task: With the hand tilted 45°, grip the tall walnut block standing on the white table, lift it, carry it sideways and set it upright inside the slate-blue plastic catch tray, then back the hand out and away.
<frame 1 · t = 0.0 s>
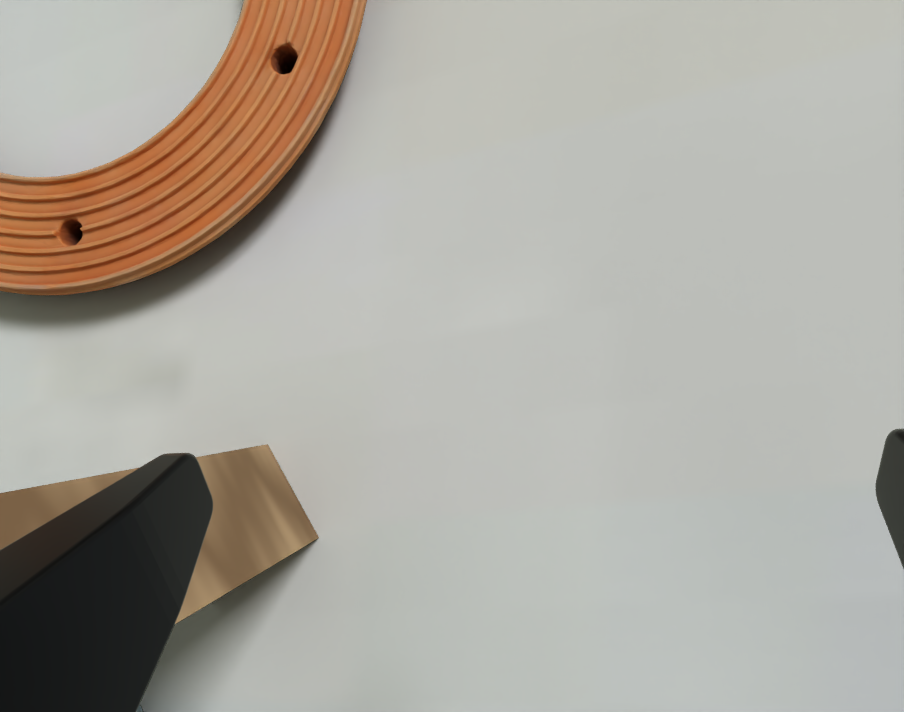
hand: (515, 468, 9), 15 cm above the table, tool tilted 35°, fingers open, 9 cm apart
ring: (96, 2, 28), on the table
walnut block: (239, 523, 25), on the table
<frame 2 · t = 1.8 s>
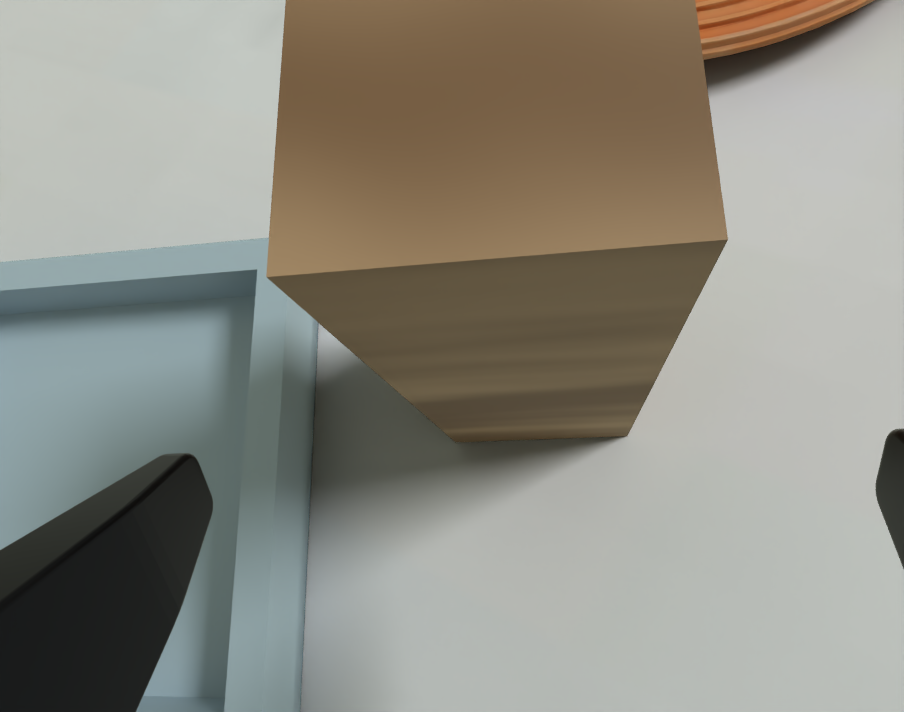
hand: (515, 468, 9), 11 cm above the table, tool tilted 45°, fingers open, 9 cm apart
catch tray: (105, 485, 21), on the table
walnut block: (536, 373, 20), on the table
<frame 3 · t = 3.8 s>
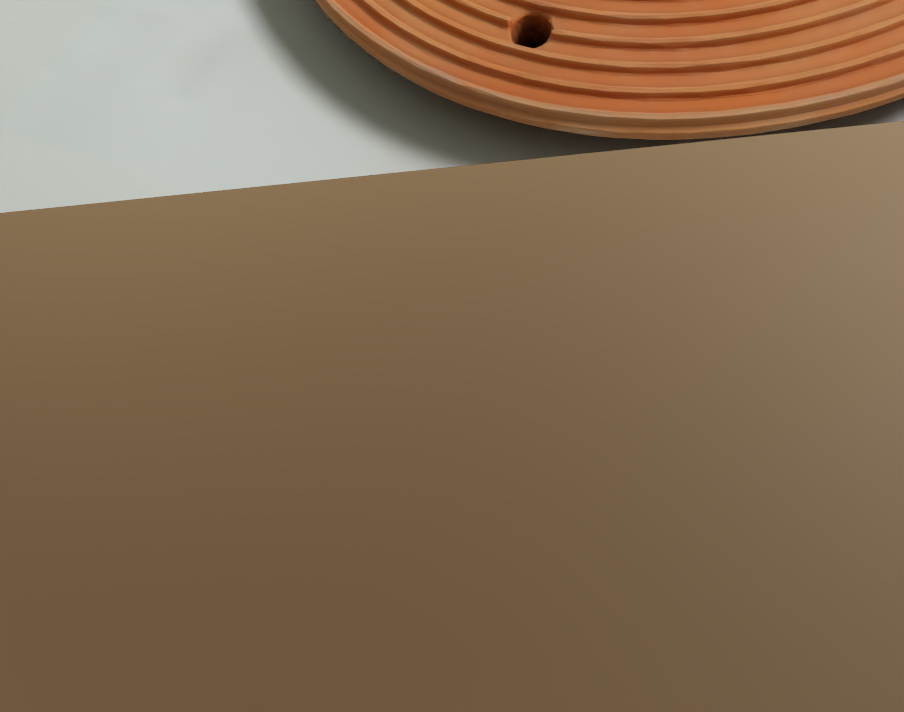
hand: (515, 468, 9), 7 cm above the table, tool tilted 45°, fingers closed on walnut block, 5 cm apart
walnut block: (541, 562, 15), on the table, touching gripper
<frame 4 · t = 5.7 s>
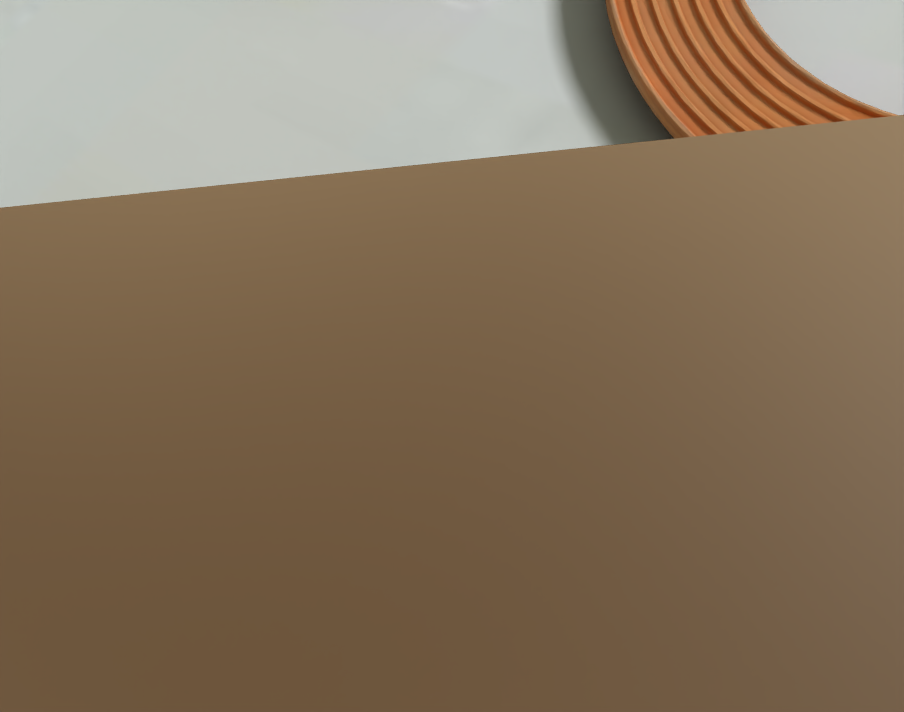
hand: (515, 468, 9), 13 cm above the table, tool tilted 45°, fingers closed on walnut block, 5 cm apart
walnut block: (542, 560, 15), point 7 cm above the table, touching gripper
when the fingers open (8 cm above the table, at t = 8.1 s): walnut block stays where it is, resting on catch tray.
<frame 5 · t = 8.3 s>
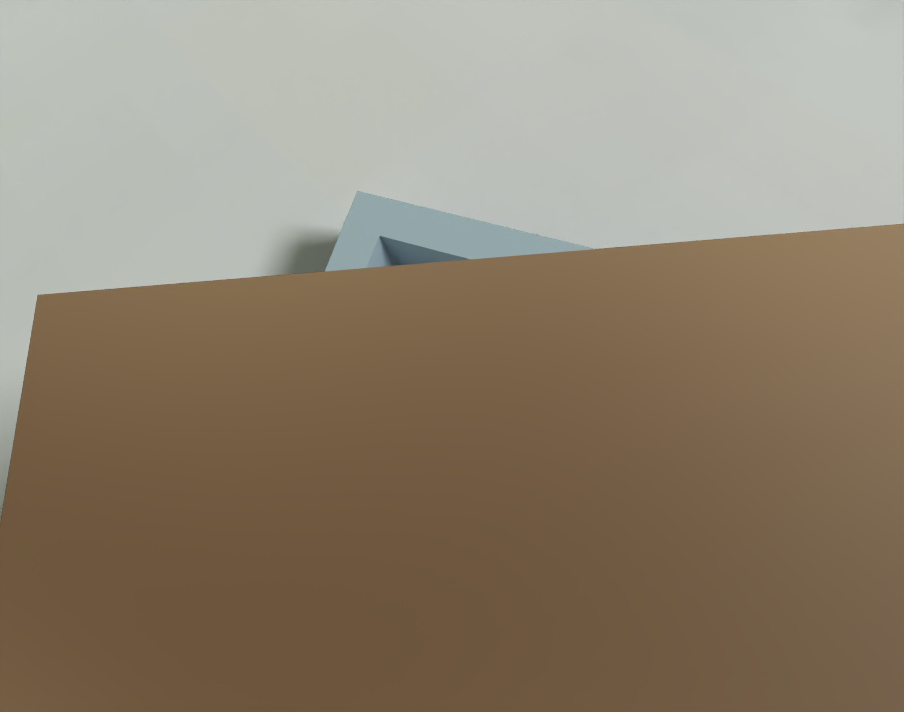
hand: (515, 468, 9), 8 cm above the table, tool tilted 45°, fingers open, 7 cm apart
catch tray: (544, 559, 16), on the table
walnut block: (542, 560, 16), resting on catch tray
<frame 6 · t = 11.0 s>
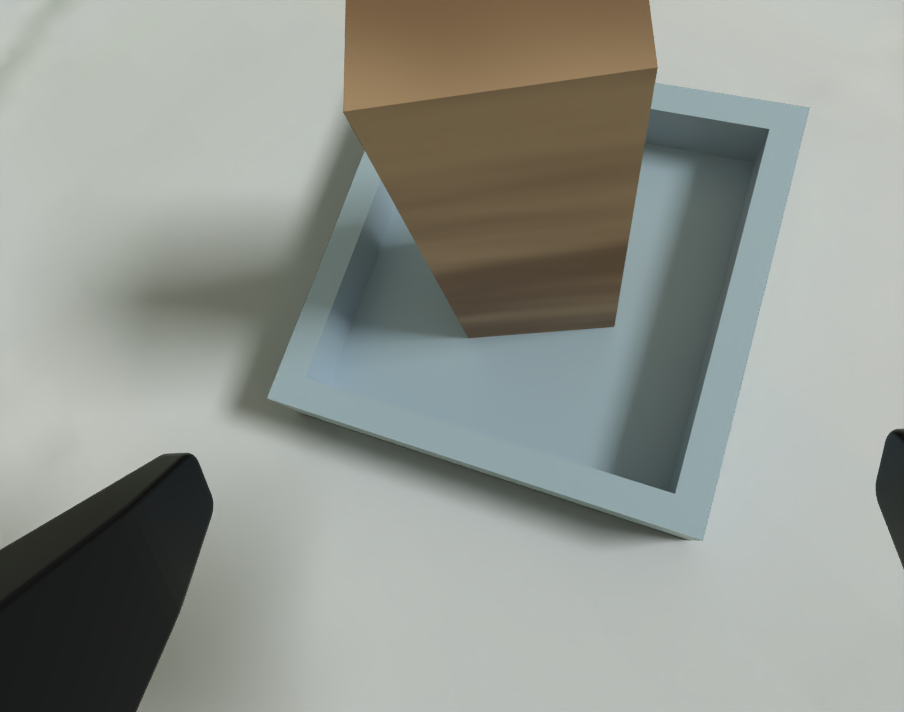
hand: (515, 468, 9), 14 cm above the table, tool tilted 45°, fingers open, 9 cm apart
catch tray: (537, 283, 24), on the table
walnut block: (536, 278, 23), resting on catch tray
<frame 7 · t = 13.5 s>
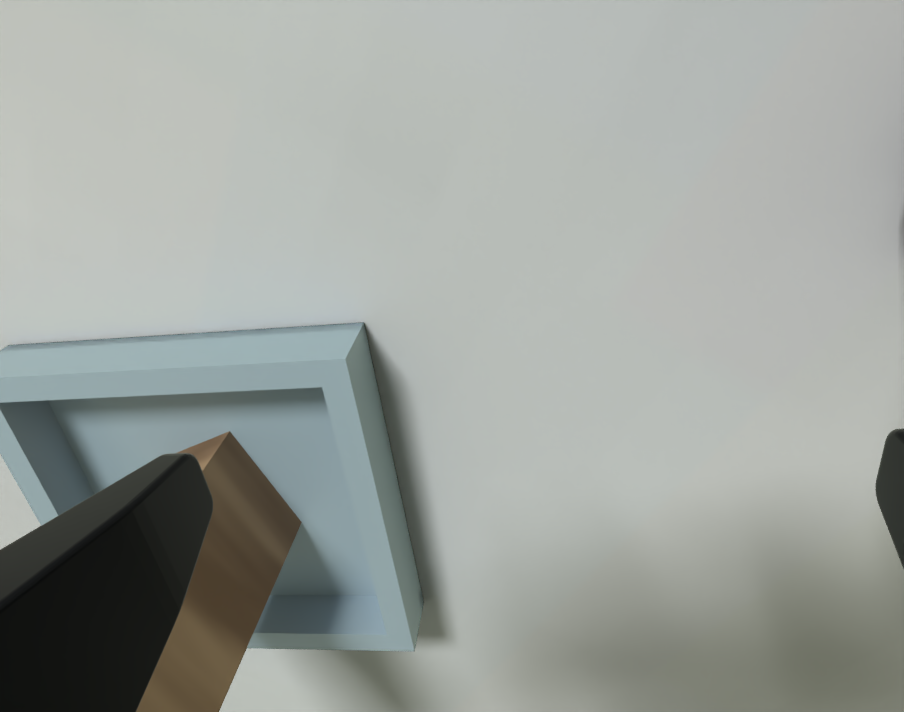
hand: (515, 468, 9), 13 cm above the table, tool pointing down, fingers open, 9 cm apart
catch tray: (232, 484, 27), on the table
walnut block: (228, 492, 27), resting on catch tray
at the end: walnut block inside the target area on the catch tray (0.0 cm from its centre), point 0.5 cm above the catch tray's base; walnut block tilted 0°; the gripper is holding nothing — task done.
